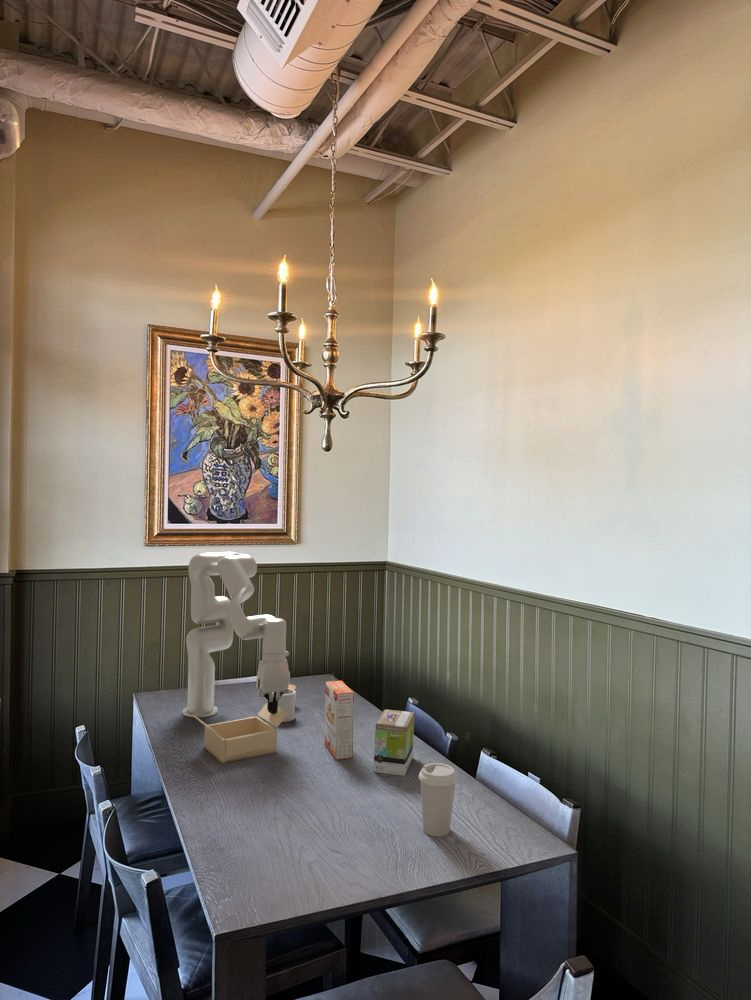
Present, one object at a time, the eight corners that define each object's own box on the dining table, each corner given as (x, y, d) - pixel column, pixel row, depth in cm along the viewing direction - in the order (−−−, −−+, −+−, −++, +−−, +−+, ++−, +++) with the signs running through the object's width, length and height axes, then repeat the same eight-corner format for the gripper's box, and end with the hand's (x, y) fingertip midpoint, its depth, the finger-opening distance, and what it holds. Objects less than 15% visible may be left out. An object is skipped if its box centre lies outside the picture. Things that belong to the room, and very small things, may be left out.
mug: (297, 715, 248) (298, 688, 248) (292, 723, 239) (293, 695, 239) (265, 713, 250) (265, 686, 250) (258, 721, 241) (259, 693, 241)
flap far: (276, 726, 213) (277, 727, 213) (287, 712, 215) (288, 713, 215) (257, 714, 224) (258, 715, 225) (268, 701, 227) (269, 701, 227)
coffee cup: (431, 817, 172) (433, 758, 172) (463, 829, 166) (465, 769, 166) (409, 830, 165) (411, 769, 164) (441, 844, 158) (443, 781, 158)
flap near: (205, 723, 214) (204, 724, 214) (193, 714, 212) (192, 715, 212) (222, 737, 203) (221, 738, 203) (209, 727, 200) (208, 728, 200)
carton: (203, 746, 215) (204, 725, 215) (255, 736, 225) (256, 716, 225) (223, 763, 202) (223, 740, 202) (277, 752, 212) (277, 730, 212)
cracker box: (323, 744, 220) (324, 680, 220) (340, 742, 222) (342, 679, 222) (334, 760, 207) (336, 693, 207) (353, 758, 209) (355, 691, 209)
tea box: (406, 776, 197) (407, 726, 197) (372, 773, 199) (374, 723, 199) (413, 757, 211) (414, 710, 211) (382, 754, 213) (383, 707, 213)
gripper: (289, 651, 227) (287, 706, 227) (248, 656, 219) (246, 713, 219) (299, 656, 221) (298, 712, 221) (257, 661, 212) (256, 719, 212)
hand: (272, 712), depth 220 cm, fingers closed
